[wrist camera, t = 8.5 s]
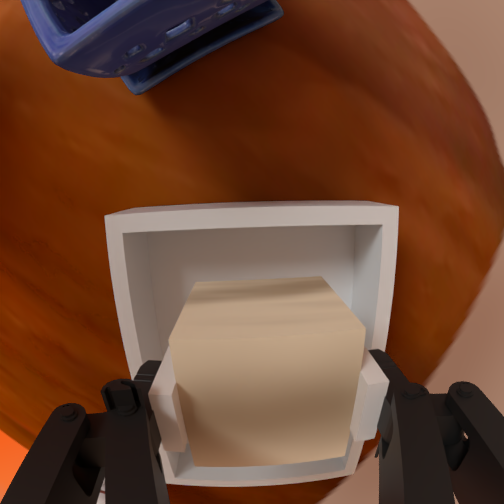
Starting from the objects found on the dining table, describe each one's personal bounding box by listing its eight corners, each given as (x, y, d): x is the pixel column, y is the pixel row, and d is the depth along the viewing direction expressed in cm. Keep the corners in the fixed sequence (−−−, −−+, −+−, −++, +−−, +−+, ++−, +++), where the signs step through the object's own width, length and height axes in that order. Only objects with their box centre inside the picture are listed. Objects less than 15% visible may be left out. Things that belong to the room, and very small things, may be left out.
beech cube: (195, 281, 15) (168, 339, 9) (321, 276, 15) (365, 328, 9) (207, 385, 16) (195, 466, 10) (316, 379, 16) (344, 455, 10)
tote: (174, 445, 25) (165, 483, 20) (134, 207, 20) (104, 215, 15) (340, 437, 25) (353, 474, 21) (365, 200, 21) (398, 206, 16)
